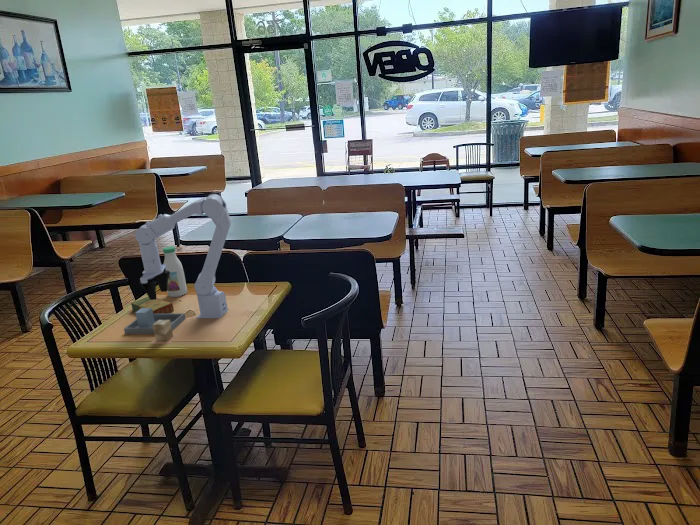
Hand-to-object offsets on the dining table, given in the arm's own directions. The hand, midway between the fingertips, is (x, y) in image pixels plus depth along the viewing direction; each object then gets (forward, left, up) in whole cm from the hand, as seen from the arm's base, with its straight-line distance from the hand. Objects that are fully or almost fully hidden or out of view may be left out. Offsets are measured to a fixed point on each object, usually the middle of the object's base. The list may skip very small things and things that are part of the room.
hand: (158, 295), depth 186 cm
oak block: (-9, +16, -9) cm, 20 cm away
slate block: (+3, +6, -9) cm, 11 cm away
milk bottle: (+8, -26, -10) cm, 29 cm away
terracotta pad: (-9, +16, -10) cm, 20 cm away
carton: (+9, -8, -10) cm, 16 cm away
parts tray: (0, +6, -10) cm, 11 cm away
